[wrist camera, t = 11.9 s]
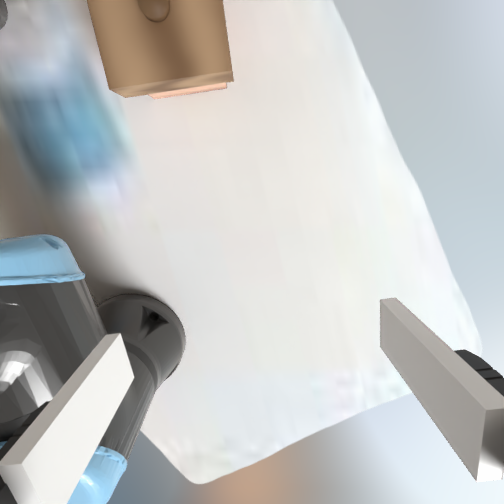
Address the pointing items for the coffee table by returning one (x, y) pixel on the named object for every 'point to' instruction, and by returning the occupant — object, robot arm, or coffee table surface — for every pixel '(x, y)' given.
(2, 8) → the beverage cup
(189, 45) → the lid
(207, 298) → the coffee table surface
